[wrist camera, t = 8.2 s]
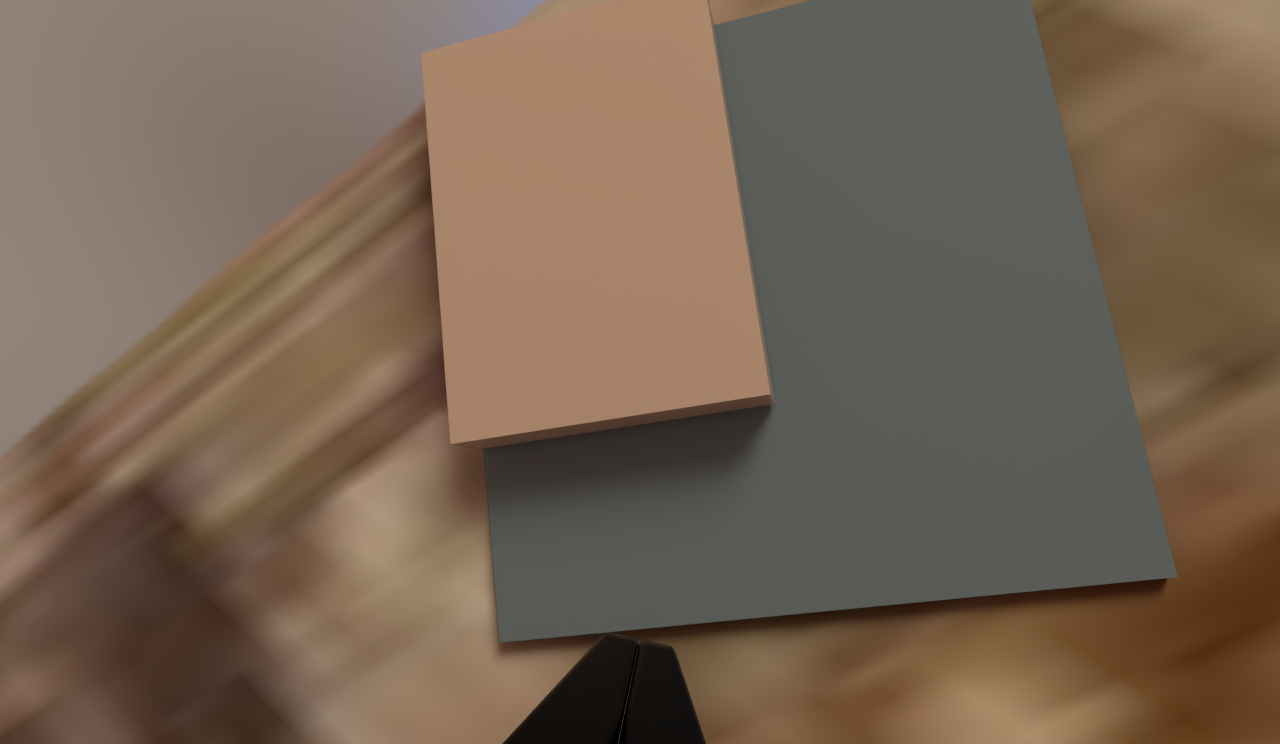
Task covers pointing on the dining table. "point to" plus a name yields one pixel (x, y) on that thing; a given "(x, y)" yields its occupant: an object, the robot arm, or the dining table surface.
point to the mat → (866, 358)
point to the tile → (590, 226)
